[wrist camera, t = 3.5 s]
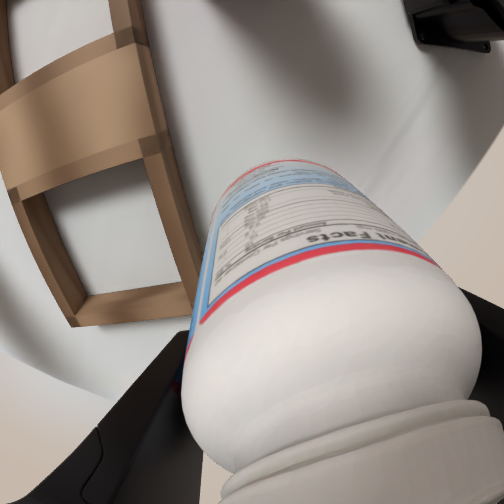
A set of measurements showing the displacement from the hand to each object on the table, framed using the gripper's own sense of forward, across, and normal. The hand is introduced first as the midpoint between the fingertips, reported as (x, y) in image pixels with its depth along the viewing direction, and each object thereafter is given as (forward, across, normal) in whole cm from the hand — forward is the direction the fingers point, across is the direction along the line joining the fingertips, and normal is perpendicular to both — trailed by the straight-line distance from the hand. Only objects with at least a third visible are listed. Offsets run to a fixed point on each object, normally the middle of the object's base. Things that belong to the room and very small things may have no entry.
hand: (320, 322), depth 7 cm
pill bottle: (+6, 0, 0) cm, 6 cm away
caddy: (+12, +11, -7) cm, 18 cm away
